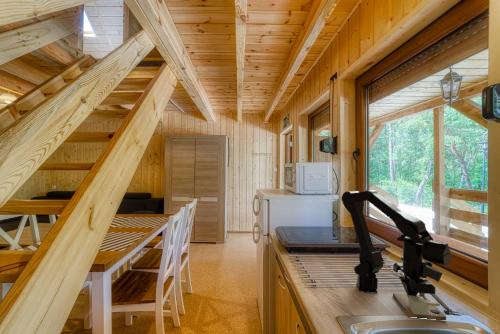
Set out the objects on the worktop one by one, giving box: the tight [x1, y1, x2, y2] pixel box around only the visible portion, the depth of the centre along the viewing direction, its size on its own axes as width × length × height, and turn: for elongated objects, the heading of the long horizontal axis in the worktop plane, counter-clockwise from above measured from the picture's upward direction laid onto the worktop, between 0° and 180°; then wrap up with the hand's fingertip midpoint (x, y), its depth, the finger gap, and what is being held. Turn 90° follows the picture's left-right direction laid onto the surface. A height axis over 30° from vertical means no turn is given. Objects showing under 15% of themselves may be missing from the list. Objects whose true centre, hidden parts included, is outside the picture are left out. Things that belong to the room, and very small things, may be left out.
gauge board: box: [392, 292, 447, 321], centre depth 90 cm, size 11×14×6 cm
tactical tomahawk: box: [430, 293, 462, 317], centre depth 96 cm, size 21×7×1 cm, turn 166°
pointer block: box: [409, 295, 441, 315], centre depth 85 cm, size 8×4×4 cm, turn 80°
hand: (411, 301), depth 90 cm, fingers closed
